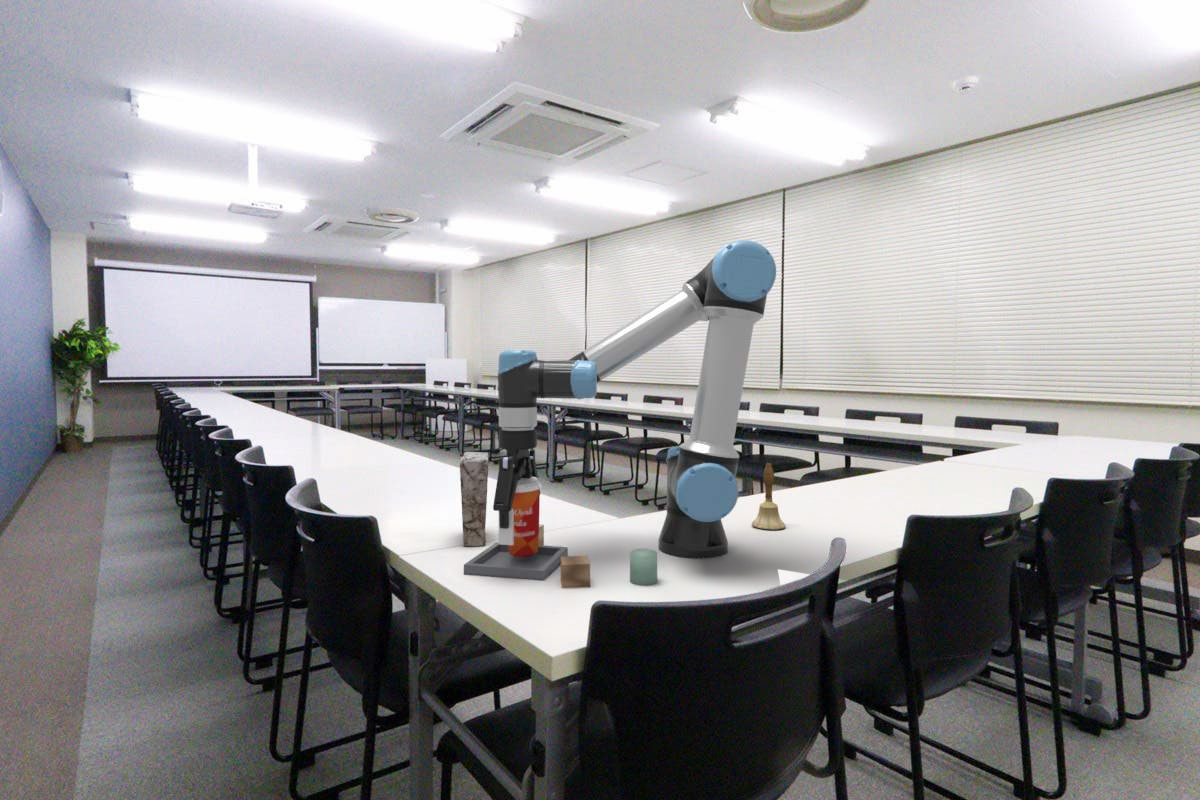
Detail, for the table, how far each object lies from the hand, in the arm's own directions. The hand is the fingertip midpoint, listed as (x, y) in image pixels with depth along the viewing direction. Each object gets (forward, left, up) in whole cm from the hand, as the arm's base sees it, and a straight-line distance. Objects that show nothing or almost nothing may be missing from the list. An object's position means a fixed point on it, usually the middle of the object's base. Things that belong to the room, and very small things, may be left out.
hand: (518, 535), depth 126 cm
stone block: (+17, -17, -7) cm, 25 cm away
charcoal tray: (0, 0, -6) cm, 6 cm away
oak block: (+3, -14, -7) cm, 16 cm away
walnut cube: (-14, +8, -7) cm, 17 cm away
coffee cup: (0, -3, -4) cm, 5 cm away
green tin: (-26, +4, -6) cm, 27 cm away
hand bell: (-50, -47, -7) cm, 69 cm away
